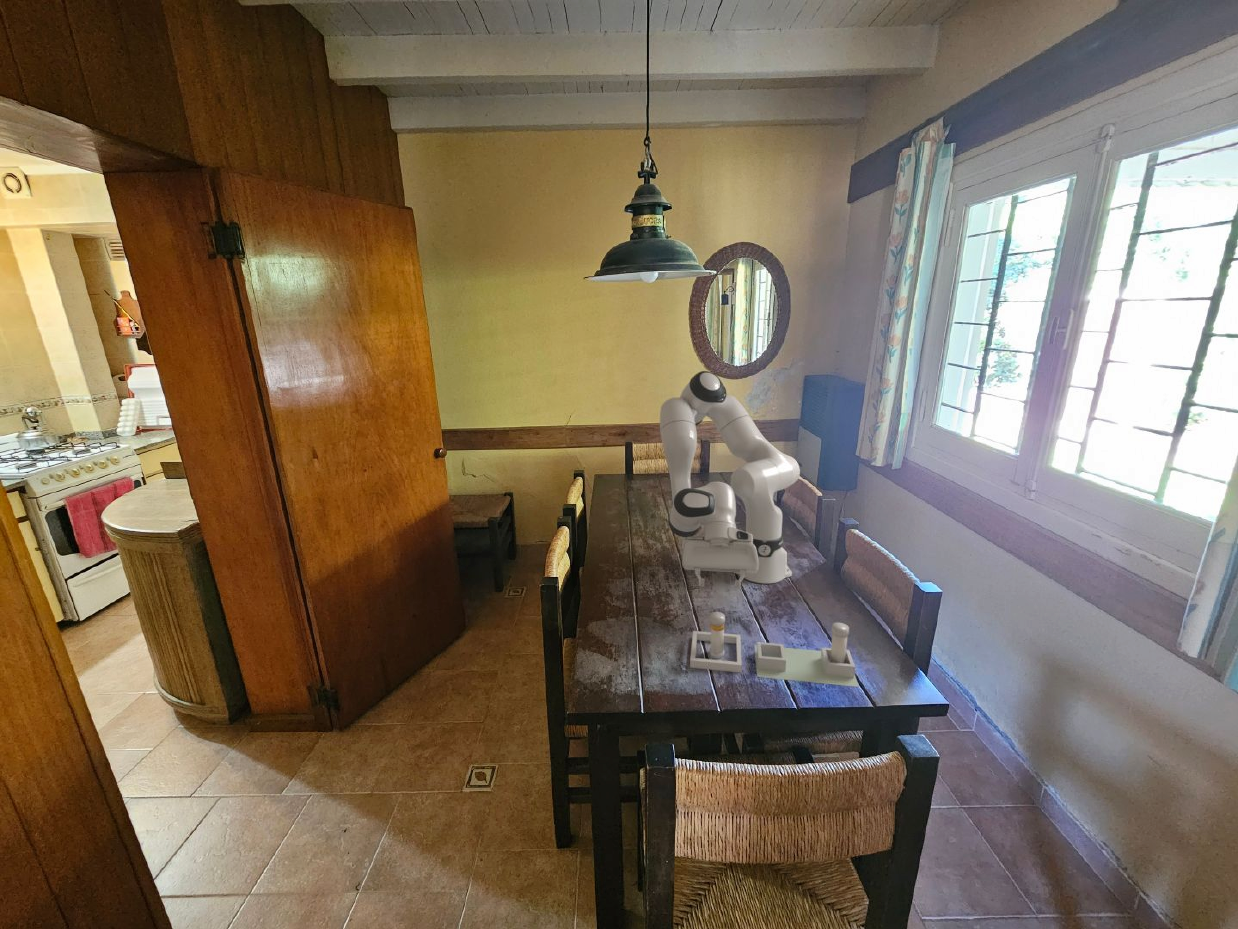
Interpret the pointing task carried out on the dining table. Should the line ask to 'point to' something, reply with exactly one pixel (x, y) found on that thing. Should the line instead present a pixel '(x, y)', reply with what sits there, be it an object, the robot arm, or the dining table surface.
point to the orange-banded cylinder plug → (717, 635)
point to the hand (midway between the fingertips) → (719, 587)
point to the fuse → (839, 642)
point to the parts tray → (716, 663)
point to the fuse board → (803, 665)
